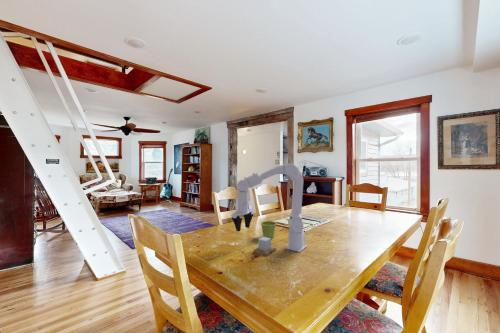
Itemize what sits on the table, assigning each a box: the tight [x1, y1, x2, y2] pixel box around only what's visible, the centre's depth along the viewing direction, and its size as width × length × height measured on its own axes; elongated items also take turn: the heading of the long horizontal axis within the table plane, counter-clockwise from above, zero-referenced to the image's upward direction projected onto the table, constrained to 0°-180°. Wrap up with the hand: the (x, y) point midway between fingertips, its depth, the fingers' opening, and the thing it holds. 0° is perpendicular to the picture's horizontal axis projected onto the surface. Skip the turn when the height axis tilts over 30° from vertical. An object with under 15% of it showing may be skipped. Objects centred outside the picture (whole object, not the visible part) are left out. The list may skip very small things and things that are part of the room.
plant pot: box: [260, 220, 277, 240], centre depth 135 cm, size 9×9×9 cm
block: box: [257, 236, 272, 251], centre depth 114 cm, size 5×5×5 cm
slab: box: [253, 246, 277, 257], centre depth 114 cm, size 8×8×2 cm
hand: (242, 229), depth 118 cm, fingers open, 7 cm apart
